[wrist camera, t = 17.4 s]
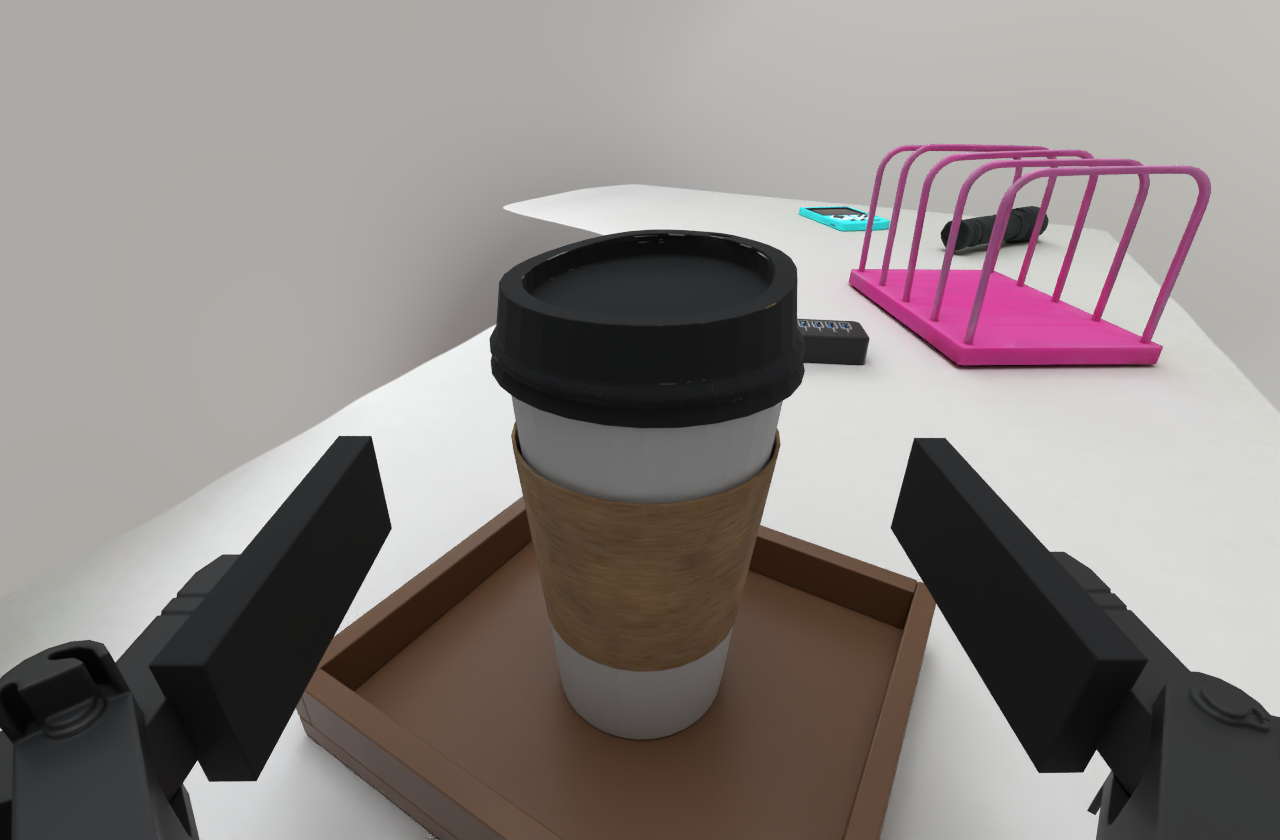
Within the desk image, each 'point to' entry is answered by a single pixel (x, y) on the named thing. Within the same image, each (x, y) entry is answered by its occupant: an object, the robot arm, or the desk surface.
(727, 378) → the coffee cup
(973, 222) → the flashlight
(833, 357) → the multiport hub
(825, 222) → the handheld game console
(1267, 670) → the desk surface
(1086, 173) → the file sorter
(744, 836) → the tray
